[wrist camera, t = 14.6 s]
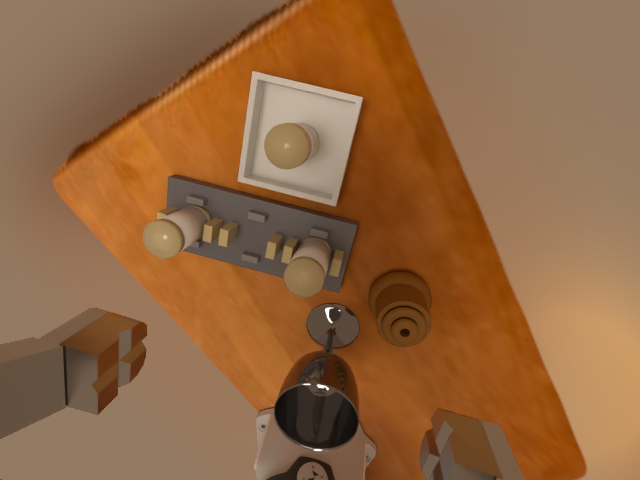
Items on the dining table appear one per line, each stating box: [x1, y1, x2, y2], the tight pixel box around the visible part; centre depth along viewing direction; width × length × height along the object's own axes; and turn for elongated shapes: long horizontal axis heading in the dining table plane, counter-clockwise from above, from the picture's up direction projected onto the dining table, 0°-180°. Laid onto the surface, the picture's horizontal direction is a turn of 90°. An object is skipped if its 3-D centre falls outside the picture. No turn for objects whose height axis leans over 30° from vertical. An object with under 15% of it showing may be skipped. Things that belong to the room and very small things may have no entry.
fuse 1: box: [143, 204, 212, 259], centre depth 37 cm, size 4×4×8 cm
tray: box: [238, 71, 363, 207], centre depth 36 cm, size 11×11×3 cm
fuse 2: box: [284, 236, 332, 297], centre depth 36 cm, size 4×4×8 cm
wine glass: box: [274, 303, 359, 451], centre depth 38 cm, size 8×8×15 cm
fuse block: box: [157, 175, 358, 293], centre depth 40 cm, size 9×23×4 cm, turn 77°
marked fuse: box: [264, 123, 319, 170], centre depth 33 cm, size 4×4×8 cm
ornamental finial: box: [369, 272, 431, 347], centre depth 38 cm, size 8×8×8 cm
